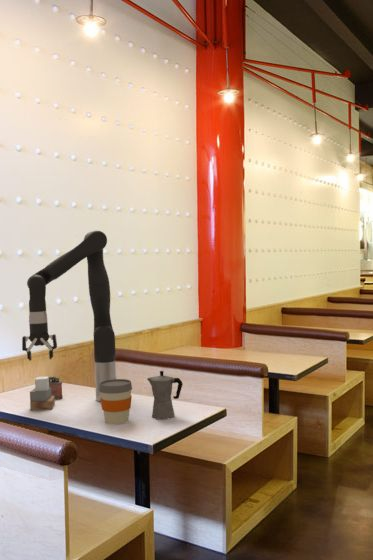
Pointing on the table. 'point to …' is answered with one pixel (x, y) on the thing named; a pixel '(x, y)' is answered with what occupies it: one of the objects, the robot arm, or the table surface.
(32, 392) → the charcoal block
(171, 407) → the coffeepot
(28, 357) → the robot arm
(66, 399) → the table surface
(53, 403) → the walnut block
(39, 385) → the top block
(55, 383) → the lighter
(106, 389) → the reusable coffee cup
